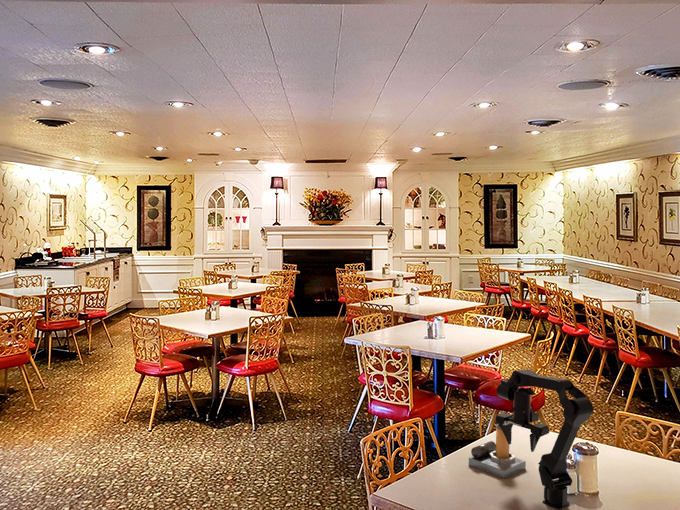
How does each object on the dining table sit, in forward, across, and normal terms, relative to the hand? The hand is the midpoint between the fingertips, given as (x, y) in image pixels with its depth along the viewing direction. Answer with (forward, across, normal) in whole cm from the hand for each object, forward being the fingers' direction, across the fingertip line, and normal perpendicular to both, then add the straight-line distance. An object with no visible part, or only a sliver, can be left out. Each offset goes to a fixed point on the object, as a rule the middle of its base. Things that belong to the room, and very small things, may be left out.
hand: (520, 447), depth 205 cm
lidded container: (+10, +13, -8) cm, 18 cm away
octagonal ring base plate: (+13, +14, -6) cm, 20 cm away
